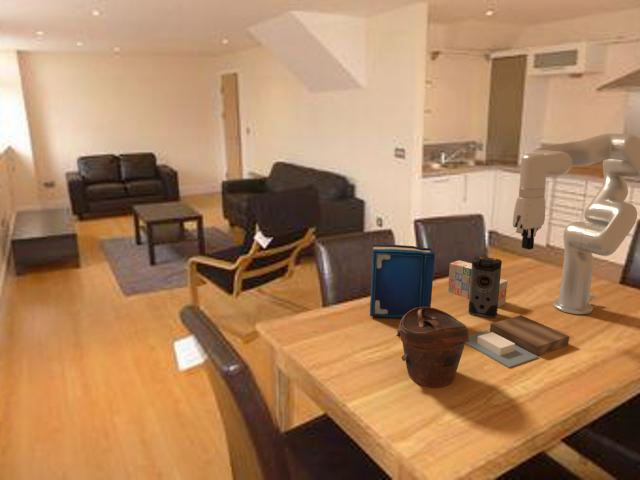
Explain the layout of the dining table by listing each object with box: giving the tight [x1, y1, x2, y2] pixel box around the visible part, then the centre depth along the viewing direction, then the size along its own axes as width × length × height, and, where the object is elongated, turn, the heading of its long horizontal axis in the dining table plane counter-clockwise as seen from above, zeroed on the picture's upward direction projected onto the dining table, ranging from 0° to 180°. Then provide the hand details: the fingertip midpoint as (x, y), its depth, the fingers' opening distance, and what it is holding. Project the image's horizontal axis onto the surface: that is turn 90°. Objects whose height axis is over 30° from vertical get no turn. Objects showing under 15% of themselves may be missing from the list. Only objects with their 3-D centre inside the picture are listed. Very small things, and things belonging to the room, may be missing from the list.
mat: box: [465, 330, 539, 369], centre depth 148 cm, size 12×20×1 cm, turn 28°
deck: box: [489, 314, 570, 357], centre depth 154 cm, size 14×18×3 cm
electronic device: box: [468, 256, 502, 319], centre depth 171 cm, size 9×6×20 cm, turn 62°
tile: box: [477, 331, 515, 356], centre depth 148 cm, size 6×9×2 cm, turn 27°
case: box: [396, 307, 470, 388], centre depth 132 cm, size 18×20×18 cm
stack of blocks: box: [448, 260, 508, 308], centre depth 186 cm, size 21×6×12 cm, turn 40°
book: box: [369, 244, 436, 319], centre depth 169 cm, size 22×7×25 cm, turn 84°
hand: (527, 248), depth 160 cm, fingers closed
